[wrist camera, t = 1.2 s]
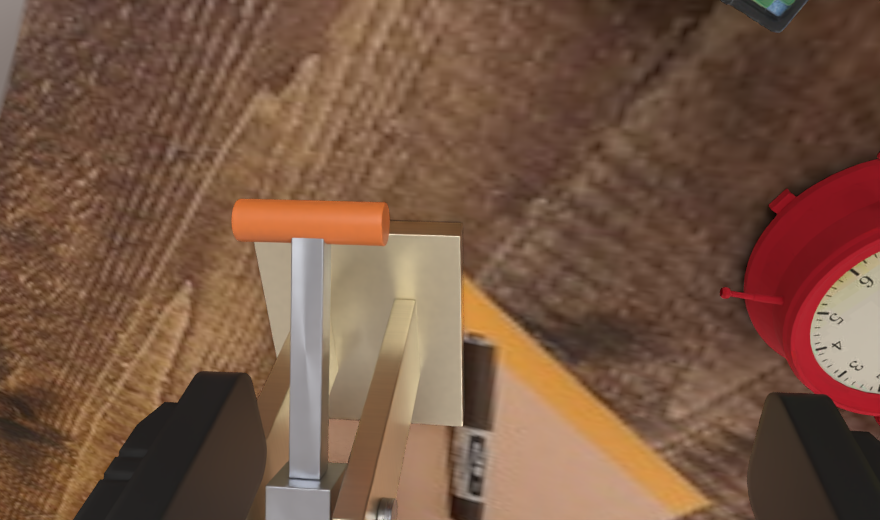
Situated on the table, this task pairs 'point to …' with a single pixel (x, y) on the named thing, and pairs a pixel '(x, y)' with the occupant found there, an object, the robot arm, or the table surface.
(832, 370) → the alarm clock
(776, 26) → the disk drive
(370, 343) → the bracket
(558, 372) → the table surface
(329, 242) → the lever
